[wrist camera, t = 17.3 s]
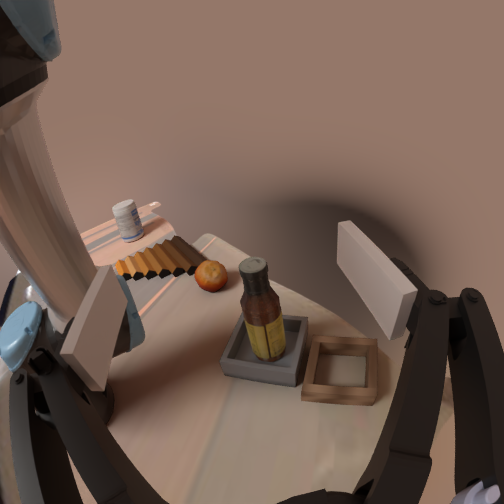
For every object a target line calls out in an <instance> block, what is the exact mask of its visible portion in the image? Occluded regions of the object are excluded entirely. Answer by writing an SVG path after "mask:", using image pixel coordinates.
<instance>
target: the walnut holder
mask: <svg viewBox="0 0 504 504" xmlns="http://www.w3.org/2000/svg"><path fill="white" fill-rule="evenodd" d="M319 354H331V355H346V356H365V357H366V374H365V388H358V387H341V386H328V385H317V384H314V380H315V375H316V369H317V363H318V358H319ZM377 377H378V351H377V339H366V338H347V337H332V336H319V335H313V338H312V343H311V348H310V353H309V358H308V363H307V368H306V373H305V377H304V382H303V386H302V391H301V401H309V402H319V403H330V404H344V405H365V406H372V405H373V403H374V401H375V399H376V397H377Z"/></svg>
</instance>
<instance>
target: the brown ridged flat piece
mask: <svg viewBox="0 0 504 504" xmlns="http://www.w3.org/2000/svg"><path fill="white" fill-rule="evenodd" d="M204 261H206V259H205V258H204V257H203V256H202V255H200V254H199V253H198V252H197V251H196V250H195V249H193V248H192V247H191V246H190V245H189V244H188V243H186V242H185V241H184V240H183V239H182V238H181V237H179V236H175V235H174V237H173V238H172V240H171V241H170V240H166V239H165V241H164V242H163V243H162V245H161V244H157V243H156V244H155V246H154V247H153V249H152V248H146V249H145V251H144V252H143V253H142V252H137V253H136V254H135V256H134V257H132V256H127V258H126V259H125V261H122V260H118V262H117V263H116V265H115V266H116V269H117V271H118V274H119V275H121V276H123V277H124V279H125V281H127V280H129V279H131V276H132V278H133V279H134V280H135V281H137V280H139V279H141V278H143V274H144V275H145V277H146V278H147V279H148V280H149V279H151V278H153V277H155V276H156V272H157V274H158V275H159V276H160V278H161V279H162V278H164V277H166V276H168V275H169V270H170V271H171V273H172V274H173V275H174V276H175V277H177V276H179V275H181V274H183V269H184V270H185V271H186V272H187V273H188V275H189V276H191V275H193V274H195V271H196V269H197V268H198V266H199V265H200V264H201V263H203V262H204Z"/></svg>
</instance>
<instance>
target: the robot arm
mask: <svg viewBox="0 0 504 504" xmlns="http://www.w3.org/2000/svg"><path fill="white" fill-rule="evenodd" d="M60 53H61V42H60V38H59V32H58V25H57V19H56V12H55V6H54V0H0V242H1V244H2V245H3V247H4V248H5V250H6V251H7V253H8V254H9V256H10V257H11V259H12V260H13V261H14V263H15V264H16V266H17V267H18V269H19V270H20V271H21V273H22V274H23V275H24V277H25V278H26V279H27V281H28V282H29V283H30V284H31V286H32V287H33V288H34V289H35V291H36V292H37V293H38V294H39V296H40V297H41V298H42V299H43V300H44V302H45V303H46V304H47V305H48V308H46V309H43V310H42V307H41V306H40V305H39V304H38V303H37V302H35V301H29V302H26V303H24V304H23V305H21V306H20V307H18V308H17V309H16V310H15V311H14V312H13V313H12V314H11V315H10V316H9V318H8V319H7V320H6V322H5V323H4V325H3V327H2V329H1V331H0V356H1V358H2V359H3V361H4V362H5V363H6V365H7V366H8V368H9V370H10V371H11V372H13V375H12V377H11V380H10V394H9V416H10V436H11V447H12V456H13V463H14V470H15V476H16V481H17V486H18V491H19V495H20V499H21V503H22V504H83V502H82V499H81V496H80V493H79V491H78V488H77V485H76V482H75V479H74V475H73V472H72V469H71V465H70V461H69V458H68V454H67V451H68V453H69V455H70V457H71V459H72V461H73V463H74V465H75V467H76V469H77V470H78V472H79V474H80V476H81V478H82V479H83V481H84V483H85V484H86V486H87V488H88V489H89V491H90V492H91V494H92V495H93V497H94V499H95V500H96V502H97V504H169V503H168V502H166V501H165V500H164V499H163V498H162V497H161V496H160V495H159V494H158V493H157V492H156V491H155V490H154V489H153V488H152V487H151V485H150V484H149V483H148V482H147V481H146V480H145V478H144V477H143V476H142V475H141V474H140V472H139V471H138V470H137V469H136V467H135V466H134V465H133V464H132V462H131V461H130V460H129V458H128V457H127V456H126V454H125V453H124V452H123V450H122V449H121V447H120V446H119V445H118V443H117V442H116V440H115V439H114V437H113V436H112V434H111V433H110V431H109V430H108V428H107V427H106V425H105V424H106V423H107V422H108V420H109V418H110V417H111V414H112V411H113V407H114V396H113V392H112V390H111V388H110V386H109V385H108V384H107V382H106V381H107V376H108V372H109V368H110V364H111V360H112V358H114V357H116V356H118V355H120V354H122V353H125V352H130V351H131V350H132V349H133V348H135V347H136V346H138V345H140V344H142V343H143V341H144V339H145V331H144V328H143V324H142V321H141V319H140V316H139V314H138V311H137V308H136V305H135V302H134V300H133V297H132V295H131V292H130V290H129V287H128V285H127V283H126V281H125V279H124V277H123V276H121V275H115V272H114V270H113V268H112V265H107V266H102V267H99V266H95V265H94V263H93V261H92V259H91V257H90V255H89V253H88V251H87V249H86V247H85V245H84V243H83V240H82V238H81V236H80V234H79V232H78V230H77V227H76V225H75V223H74V221H73V218H72V216H71V214H70V211H69V209H68V207H67V204H66V201H65V199H64V196H63V194H62V191H61V188H60V186H59V183H58V180H57V177H56V175H55V172H54V169H53V166H52V163H51V159H50V156H49V153H48V150H47V146H46V143H45V139H44V136H43V132H42V128H41V124H40V120H39V116H38V112H37V107H36V106H37V100H38V98H39V96H40V94H41V92H42V90H43V89H44V87H45V85H46V84H47V82H48V74H47V67H46V62H47V61H52V60H53V59H54V58H56V57H57V56H59V55H60ZM337 264H338V265H339V267H340V268H341V269H342V271H343V272H344V274H345V275H346V277H347V278H348V279H349V281H350V282H351V284H352V285H353V287H354V288H355V289H356V291H357V292H358V294H359V295H360V297H361V298H362V300H363V301H364V303H365V304H366V306H367V307H368V309H369V310H370V312H371V313H372V315H373V316H374V318H375V319H376V321H377V322H378V324H379V325H380V327H381V328H382V330H383V332H384V333H385V335H386V336H387V338H388V339H389V341H390V340H393V339H396V338H399V337H401V336H403V334H404V331H405V328H406V327H407V329H408V330H409V331H410V334H409V337H408V340H407V342H406V345H405V347H404V348H406V352H405V356H404V360H403V364H402V368H401V372H400V376H399V380H398V383H397V387H396V391H395V394H394V397H393V401H392V404H391V407H390V410H389V413H388V416H387V419H386V422H385V425H384V427H383V430H382V433H381V435H380V438H379V441H378V443H377V446H376V448H375V451H374V453H373V455H372V458H371V460H370V462H369V464H368V466H367V468H366V470H365V472H364V473H363V475H362V476H361V478H360V480H359V482H358V483H357V485H356V487H355V489H354V491H353V493H352V494H350V493H346V492H337V491H328V492H326V490H325V489H322V490H318V491H314V492H310V493H306V494H302V495H298V496H293V497H291V498H289V499H287V500H284V501H282V502H279V503H277V504H418V503H419V500H420V498H421V496H422V493H423V490H424V488H425V485H426V482H427V479H428V476H429V473H430V470H431V466H432V459H431V457H430V449H431V445H432V442H433V438H434V434H435V430H436V425H437V421H438V416H439V411H440V406H441V400H442V394H443V388H444V381H445V373H446V364H447V355H448V361H449V368H450V375H451V382H452V391H453V402H454V415H455V492H456V496H455V497H454V498H453V500H452V501H451V503H450V504H504V352H503V349H502V346H501V343H500V339H499V336H498V333H497V331H496V328H495V325H494V322H493V320H492V317H491V314H490V312H489V309H488V307H487V304H486V302H485V300H484V297H483V296H482V294H481V293H480V292H479V291H478V290H476V289H473V288H465V289H463V290H462V292H461V294H460V297H453V298H448V297H447V296H446V295H445V294H444V293H442V292H440V291H437V290H429V289H428V288H427V287H426V286H425V284H424V283H423V282H422V281H421V280H420V279H419V278H418V277H417V276H416V275H415V274H414V273H413V272H412V271H411V270H410V269H409V268H408V267H407V266H406V265H405V264H404V263H403V262H402V261H400V260H398V259H396V258H391V259H389V258H388V257H387V256H386V255H385V254H384V253H383V252H382V251H381V250H380V249H379V248H378V247H377V246H376V245H375V244H374V243H373V242H372V241H371V240H370V239H369V238H368V237H367V236H366V235H365V234H364V233H363V232H362V231H361V230H360V229H358V228H357V227H356V226H355V225H354V224H353V223H352V222H351V221H345V222H339V223H338V248H337ZM35 410H36V413H35ZM66 449H67V450H66Z"/></svg>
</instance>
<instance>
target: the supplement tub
mask: <svg viewBox="0 0 504 504" xmlns="http://www.w3.org/2000/svg"><path fill="white" fill-rule="evenodd" d="M112 209H113V213H114V216H115V219H116V222H117V225H118V228H119V231H120V234H121V237H122V239H123V241H124V242H133V241H136V240H138V239H139V238H141V237H142V236H143V234H144V231H143V227H142V224H141V221H140V218H139V215H138V211H137V208H136V205H135V202H134V200H126V201H123V202H120V203H118V204H116V205H115V206H114V207H113V208H112Z"/></svg>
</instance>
